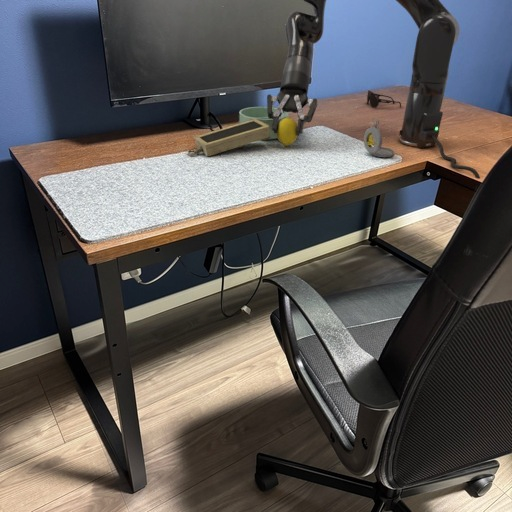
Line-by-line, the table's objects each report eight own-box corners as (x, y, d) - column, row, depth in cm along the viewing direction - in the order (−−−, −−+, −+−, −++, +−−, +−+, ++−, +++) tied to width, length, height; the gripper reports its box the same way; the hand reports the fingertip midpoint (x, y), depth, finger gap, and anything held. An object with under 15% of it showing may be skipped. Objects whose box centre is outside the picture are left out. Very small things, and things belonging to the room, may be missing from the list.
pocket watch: (396, 153, 131) (403, 116, 126) (387, 162, 125) (394, 123, 120) (367, 147, 134) (373, 111, 129) (356, 155, 128) (362, 117, 123)
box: (273, 143, 130) (271, 125, 127) (196, 168, 122) (192, 149, 119) (257, 135, 136) (255, 117, 133) (184, 158, 128) (180, 140, 125)
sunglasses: (361, 101, 182) (365, 88, 180) (390, 105, 185) (394, 92, 183) (372, 108, 173) (376, 94, 171) (402, 113, 176) (406, 99, 174)
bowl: (296, 137, 140) (298, 116, 137) (253, 143, 134) (254, 121, 131) (271, 124, 151) (273, 105, 148) (230, 129, 145) (230, 109, 142)
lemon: (296, 144, 135) (299, 114, 131) (296, 150, 130) (298, 120, 126) (276, 142, 135) (278, 113, 131) (275, 148, 131) (277, 118, 127)
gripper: (269, 67, 131) (258, 123, 127) (322, 71, 128) (313, 128, 124) (271, 83, 138) (261, 137, 134) (322, 88, 136) (313, 142, 132)
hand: (286, 132), depth 129 cm, fingers closed on lemon, 5 cm apart
